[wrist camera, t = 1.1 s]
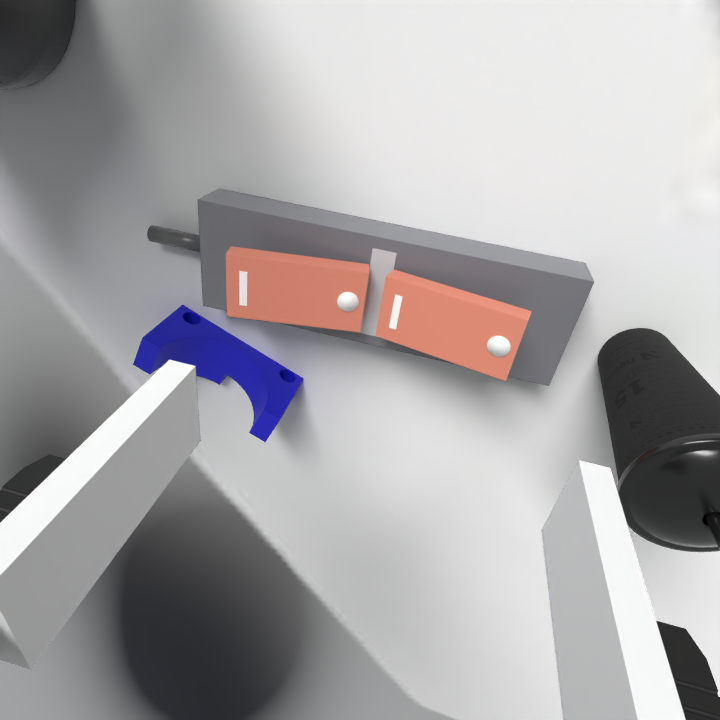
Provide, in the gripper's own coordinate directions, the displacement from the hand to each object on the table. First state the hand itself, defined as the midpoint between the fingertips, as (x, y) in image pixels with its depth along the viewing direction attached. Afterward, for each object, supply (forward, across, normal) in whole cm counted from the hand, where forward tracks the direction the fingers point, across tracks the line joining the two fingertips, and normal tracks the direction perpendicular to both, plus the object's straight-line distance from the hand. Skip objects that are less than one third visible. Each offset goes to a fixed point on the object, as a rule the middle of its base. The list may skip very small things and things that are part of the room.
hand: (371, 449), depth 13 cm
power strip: (+24, -5, -5) cm, 25 cm away
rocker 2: (+19, +2, -5) cm, 20 cm away
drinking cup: (+24, +16, -7) cm, 30 cm away
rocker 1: (+19, -8, -5) cm, 22 cm away
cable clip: (+24, -15, -16) cm, 33 cm away
